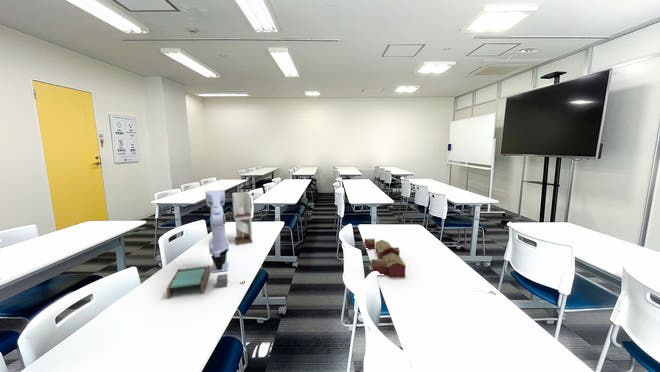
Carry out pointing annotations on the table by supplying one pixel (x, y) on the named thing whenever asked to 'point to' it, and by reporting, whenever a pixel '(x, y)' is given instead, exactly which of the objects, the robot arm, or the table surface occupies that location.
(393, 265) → the toy houses
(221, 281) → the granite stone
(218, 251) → the robot arm
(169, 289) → the frame
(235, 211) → the display case
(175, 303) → the table surface
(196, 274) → the trapdoor
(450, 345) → the table surface
